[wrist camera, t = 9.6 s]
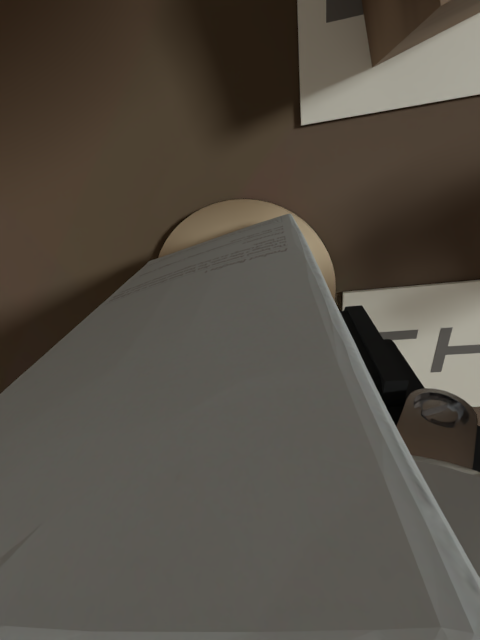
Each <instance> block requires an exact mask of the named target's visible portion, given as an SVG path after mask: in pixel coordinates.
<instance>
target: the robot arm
mask: <svg viewBox="0 0 480 640" xmlns="http://www.w3.org/2000/svg"><path fill="white" fill-rule="evenodd" d="M340 313H341V315H342V317H343V319H344V321H345V323H346V326H347V328H348V330H349V332H350V334H351V336H352V338H353V340H354V342H355V344H356V346H357V348H358V350H359V353H360V355H361V357H362V359H363V361H364V364H365V366H366V368H367V370H368V372H369V374H370V376H371V378H372V380H373V382H374V384H375V386H376V388H377V390H378V392H379V394H380V396H381V398H382V400H383V402H384V404H385V406H386V408H387V410H388V412H389V414H390V416H391V418H392V420H393V422H394V424H395V426H396V427H397V429H398V431H399V433H400V435H401V437H402V439H403V441H404V443H405V444H406V446H407V448H408V450H409V452H410V454H411V456H412V458H413V460H414V461H415V463H416V465H417V467H418V469H419V471H420V472H421V474H422V476H423V478H424V480H425V482H426V483H427V485H428V487H429V489H430V491H431V493H432V494H433V496H434V498H435V500H436V502H437V503H438V505H439V507H440V509H441V511H442V513H443V514H444V516H445V518H446V520H447V521H448V523H449V525H450V527H451V528H452V530H453V532H454V534H455V536H456V537H457V539H458V541H459V543H460V544H461V546H462V548H463V550H464V552H465V553H466V555H467V557H468V559H469V560H470V562H471V564H472V566H473V567H474V569H475V571H476V573H477V575H478V576H479V578H480V426H478V425H477V423H478V420H477V414H476V412H475V411H474V409H473V408H472V407H471V406H470V405H469V404H468V403H467V402H466V401H465V400H463V399H461V398H460V397H458V396H456V395H455V394H452V393H449V392H447V391H444V390H439V389H433V388H424V386H423V385H422V383H421V382H420V380H419V379H418V377H417V376H416V374H415V373H414V371H413V370H412V368H411V367H410V365H409V364H408V362H407V361H406V359H405V358H404V356H403V355H402V354H401V352H400V351H399V349H398V348H397V346H396V345H395V343H394V342H393V341H392V340H391V339H383V338H382V336H381V335H380V333H379V332H378V330H377V328H376V327H375V325H374V324H373V322H372V320H371V319H370V317H369V316H368V314H367V312H366V311H365V309H364V308H363V306H362V305H360V306H347V307H345V309H344V311H340Z"/></svg>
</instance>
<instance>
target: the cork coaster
mask: <svg viewBox="0 0 480 640" xmlns="http://www.w3.org/2000/svg"><path fill="white" fill-rule="evenodd" d="M286 214H291V215H292V216H293V218H294V219H295V221H296V223H297V225H298V227H299V229H300V230H301V232H302V234H303V235H304V237H305V239H306V242H307V244H308V246H309V248H310V250H311V252H312V254H313V256H314V258H315V260H316V262H317V264H318V266H319V268H320V270H321V272H322V275H323V277H324V279H325V281H326V284H327V286H328V288H329V290H330V293H331V295H332V297H333V299H334V300H335V291H336V284H335V274H334V269H333V265H332V262H331V259H330V256H329V254H328V252H327V250H326V248H325V246H324V244H323V243H322V241H321V240H320V238H319V237H318V236H317V234H316V233H315V232H314V230H313V229H312V228H311V227H310V226H309V225H308V224H307V223H306V222H305V221H304V220H302V219H301V218H300V217H298V216H297V215H296V214H294V213H293V212H291V211H289V210H287V209H285V208H283V207H281V206H278V205H276V204H273V203H270V202H266V201H262V200H257V199H244V198H243V199H230V200H225V201H220V202H216V203H214V204H211V205H208V206H206V207H204V208H202V209H200V210H198V211H196V212H195V213H193V214H192V215H190V216H189V217H188V218H186V219H185V220H184V221H182V222H181V223H180V224H179V225H178V226H177V227H176V228H175V229H174V230H173V231H172V233H171V234H170V236H169V237H168V238H167V240H166V241H165V243H164V245H163V247H162V249H161V251H160V254H159V257H158V258H160V257H163V256H165V255H168V254H171V253H174V252H177V251H180V250H183V249H185V248H188V247H191V246H194V245H197V244H200V243H202V242H205V241H208V240H211V239H214V238H217V237H220V236H222V235H225V234H228V233H231V232H234V231H237V230H240V229H243V228H246V227H249V226H251V225H254V224H257V223H260V222H263V221H267V220H270V219H273V218H276V217H279V216H282V215H286Z"/></svg>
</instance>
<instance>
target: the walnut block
mask: <svg viewBox="0 0 480 640" xmlns="http://www.w3.org/2000/svg"><path fill="white" fill-rule="evenodd" d="M362 7H363V13H364V19H365V25H366V32H367V38H368V44H369V50H370V57H371V63H372V68H373V67H375V66H377V65H379V64H381V63H383V62H385V61H387V60H388V59H390V58H392V57H394V56H396V55H398V54H400V53H402V52H404V51H406V50H408V49H410V48H412V47H414V46H416V45H418V44H420V43H421V42H423V41H425V40H427V39H429V38H431V37H433V36H435V35H437V34H439V33H441V32H443V31H445V30H447V29H449V28H451V27H453V26H455V25H456V24H458V23H460V22H462V21H464V20H466V19H468V18H470V17H472V16H474V15H476V14H478V13H480V0H362Z"/></svg>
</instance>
